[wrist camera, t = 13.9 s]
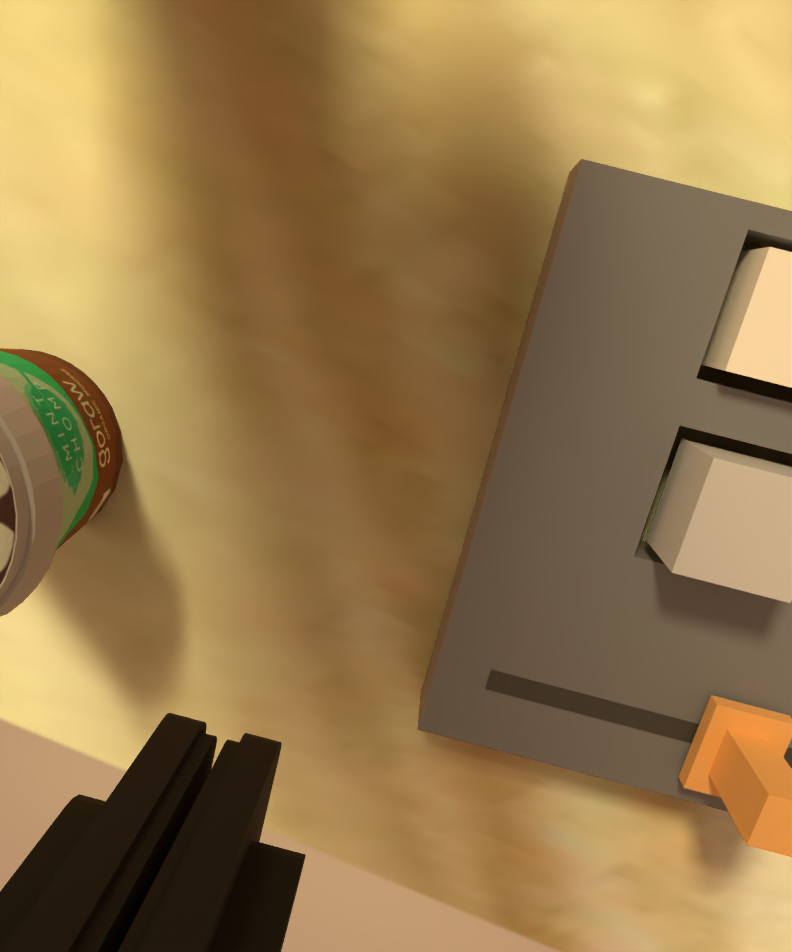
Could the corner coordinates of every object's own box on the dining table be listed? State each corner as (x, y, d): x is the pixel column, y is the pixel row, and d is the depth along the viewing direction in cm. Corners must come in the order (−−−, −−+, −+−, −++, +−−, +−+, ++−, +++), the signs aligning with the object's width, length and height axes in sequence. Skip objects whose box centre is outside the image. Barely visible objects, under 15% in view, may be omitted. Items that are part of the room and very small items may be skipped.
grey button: (681, 438, 31) (713, 457, 27) (790, 466, 31) (837, 489, 27) (645, 539, 32) (671, 572, 29) (750, 567, 32) (790, 603, 28)
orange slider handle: (710, 694, 33) (758, 767, 28) (789, 715, 32) (850, 791, 27) (678, 776, 34) (717, 860, 29) (753, 796, 34) (806, 883, 29)
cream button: (730, 253, 31) (769, 246, 27) (839, 280, 31) (894, 277, 27) (692, 362, 32) (725, 370, 28) (797, 388, 32) (844, 400, 28)
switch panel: (569, 172, 31) (581, 158, 28) (1028, 286, 31) (1090, 285, 28) (420, 696, 37) (417, 730, 34) (797, 795, 37) (827, 838, 34)
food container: (196, 488, 36) (100, 558, 26) (100, 548, 37) (-26, 636, 27) (45, 269, 34) (-119, 256, 24) (-51, 339, 35) (-245, 354, 25)
